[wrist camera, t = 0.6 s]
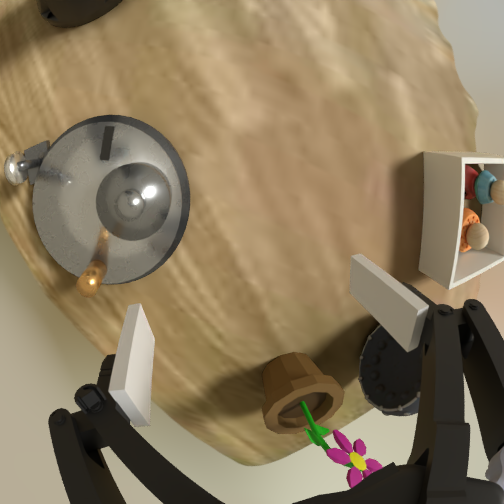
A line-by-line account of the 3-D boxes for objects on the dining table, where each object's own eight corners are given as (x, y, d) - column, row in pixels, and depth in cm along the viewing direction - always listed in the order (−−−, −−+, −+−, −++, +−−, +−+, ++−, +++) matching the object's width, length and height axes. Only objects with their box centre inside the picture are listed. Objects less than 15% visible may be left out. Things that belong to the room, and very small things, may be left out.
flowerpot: (335, 357, 52) (414, 475, 24) (289, 401, 54) (341, 519, 27) (284, 332, 46) (368, 487, 19) (235, 384, 49) (278, 531, 21)
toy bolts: (458, 258, 52) (496, 281, 40) (422, 229, 46) (470, 253, 34) (485, 191, 47) (525, 205, 36) (454, 149, 41) (503, 159, 30)
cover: (99, 171, 28) (82, 177, 23) (165, 154, 29) (159, 155, 24) (115, 236, 31) (103, 253, 26) (178, 221, 32) (176, 236, 27)
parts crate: (423, 151, 40) (461, 157, 32) (485, 152, 43) (516, 159, 35) (418, 269, 49) (448, 290, 41) (479, 246, 52) (505, 259, 44)
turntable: (45, 121, 25) (20, 118, 19) (195, 131, 30) (196, 127, 24) (40, 268, 31) (19, 289, 25) (172, 287, 36) (170, 313, 31)
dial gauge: (27, 150, 27) (-2, 153, 20) (49, 140, 28) (21, 141, 21) (33, 183, 29) (5, 193, 22) (55, 175, 30) (28, 183, 23)
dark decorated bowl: (339, 370, 54) (385, 440, 35) (390, 289, 49) (461, 349, 30) (371, 372, 57) (417, 432, 39) (419, 300, 52) (481, 351, 34)
